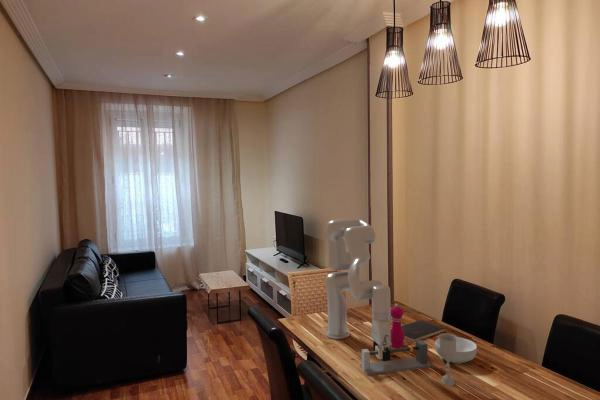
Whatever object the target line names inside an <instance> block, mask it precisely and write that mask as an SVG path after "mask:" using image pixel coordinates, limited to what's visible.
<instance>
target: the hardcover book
mask: <svg viewBox="0 0 600 400" xmlns="http://www.w3.org/2000/svg"><path fill="white" fill-rule="evenodd" d="M401 327H402V330H403V332H404V335H405V339H406V340H408V341H410V342H413V343H414V342H415V343H416V341H419V340H424V339H425V338H429V337H432V336H435V335H437V334H438V335H439V334H441V333H443V332H444V333H445V327H442V326H439V325H437V324H434V323H432V322H428V321H426V320H423V319H419V320H415V321H412V322H409V323H407V324H403V325H402V324H401ZM390 330H391V328H390ZM405 339H404V340H405Z"/></svg>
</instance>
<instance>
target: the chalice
mask: <svg viewBox="0 0 600 400" xmlns="http://www.w3.org/2000/svg"><path fill="white" fill-rule="evenodd" d="M438 337H439V338H440V350H441V353H442V355H443V358H442V359H444V360H445V361H446V364H445V366H446V369H445V371H446V374H445V375H443V376H442V379H441V381H440V382H441V384H443V385H444V386H447V387H448V386H450V387H451V386H454V385H455V384H456V383H455V381H454V380H455V379H454V378H453V376H452V375H450V372H451V369H450V367H451V365H450V362H449V361H451V360H452V359H453V357H454V355H455V352H456V340H457V337H458V336H456V335H455V334H453V333H448V332H444V333H443V332H441V333H438ZM439 338H438V339H439Z"/></svg>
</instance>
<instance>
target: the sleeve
mask: <svg viewBox="0 0 600 400" xmlns="http://www.w3.org/2000/svg"><path fill="white" fill-rule="evenodd" d="M386 347H387V346H385V348H386ZM375 351H378V354H377V355H375V356H376V358H377V359H378V360H383V357H382V351H383V347H382V345H381V346H375Z"/></svg>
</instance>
